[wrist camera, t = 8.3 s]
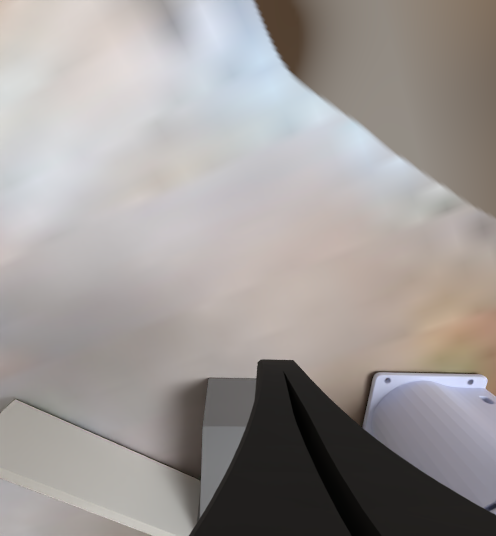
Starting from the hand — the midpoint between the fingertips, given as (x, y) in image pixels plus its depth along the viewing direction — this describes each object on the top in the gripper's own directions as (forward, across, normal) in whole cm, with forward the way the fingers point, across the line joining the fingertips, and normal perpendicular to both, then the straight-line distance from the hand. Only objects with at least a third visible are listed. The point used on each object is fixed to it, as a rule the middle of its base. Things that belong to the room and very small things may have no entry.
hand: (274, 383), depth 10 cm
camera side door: (+9, +10, +14) cm, 19 cm away
